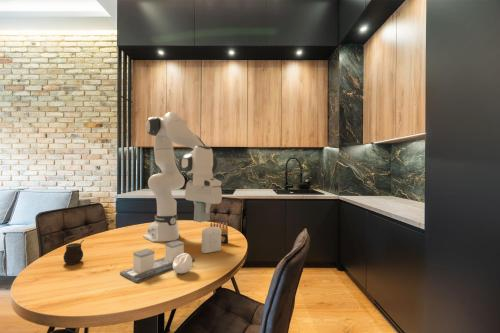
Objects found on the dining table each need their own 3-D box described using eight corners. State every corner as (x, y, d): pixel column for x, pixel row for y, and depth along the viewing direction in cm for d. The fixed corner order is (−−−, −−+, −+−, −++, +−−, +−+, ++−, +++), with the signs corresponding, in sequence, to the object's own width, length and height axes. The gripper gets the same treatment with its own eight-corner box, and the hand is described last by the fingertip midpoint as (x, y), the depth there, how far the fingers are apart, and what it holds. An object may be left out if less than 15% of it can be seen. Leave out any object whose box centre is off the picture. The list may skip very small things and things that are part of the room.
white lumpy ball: (170, 270, 104) (171, 252, 104) (188, 267, 108) (189, 249, 108) (175, 278, 97) (175, 258, 97) (194, 274, 101) (194, 255, 101)
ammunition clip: (209, 242, 143) (209, 221, 143) (209, 241, 145) (210, 221, 145) (227, 243, 142) (227, 222, 142) (228, 242, 144) (228, 221, 144)
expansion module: (193, 221, 113) (194, 202, 113) (203, 218, 118) (203, 201, 118) (200, 222, 111) (200, 203, 111) (209, 220, 115) (210, 201, 115)
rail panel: (120, 274, 100) (120, 269, 100) (177, 255, 123) (177, 251, 123) (136, 283, 93) (136, 277, 93) (194, 260, 116) (194, 256, 116)
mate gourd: (65, 260, 113) (66, 238, 113) (85, 258, 116) (86, 237, 116) (60, 266, 107) (61, 243, 107) (81, 264, 110) (82, 241, 110)
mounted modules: (133, 270, 101) (133, 252, 101) (176, 255, 118) (176, 240, 118) (140, 273, 98) (140, 255, 98) (183, 257, 115) (183, 242, 115)
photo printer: (218, 248, 134) (218, 225, 134) (222, 250, 130) (222, 226, 130) (200, 251, 128) (200, 227, 128) (203, 254, 124) (204, 229, 124)
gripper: (181, 180, 117) (181, 210, 118) (214, 182, 106) (213, 215, 106) (192, 179, 123) (191, 208, 123) (224, 182, 111) (223, 213, 111)
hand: (202, 211), depth 114 cm, fingers closed on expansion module, 4 cm apart
